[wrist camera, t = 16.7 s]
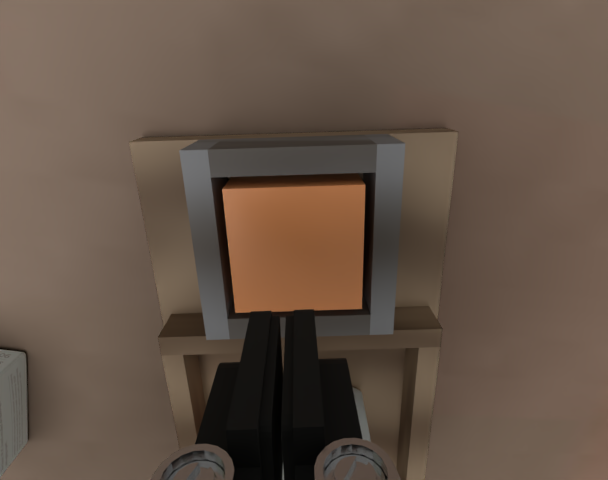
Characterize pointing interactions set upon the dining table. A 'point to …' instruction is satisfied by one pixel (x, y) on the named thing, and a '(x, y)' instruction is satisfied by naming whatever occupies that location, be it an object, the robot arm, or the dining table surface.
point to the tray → (329, 323)
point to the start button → (296, 241)
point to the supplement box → (12, 406)
